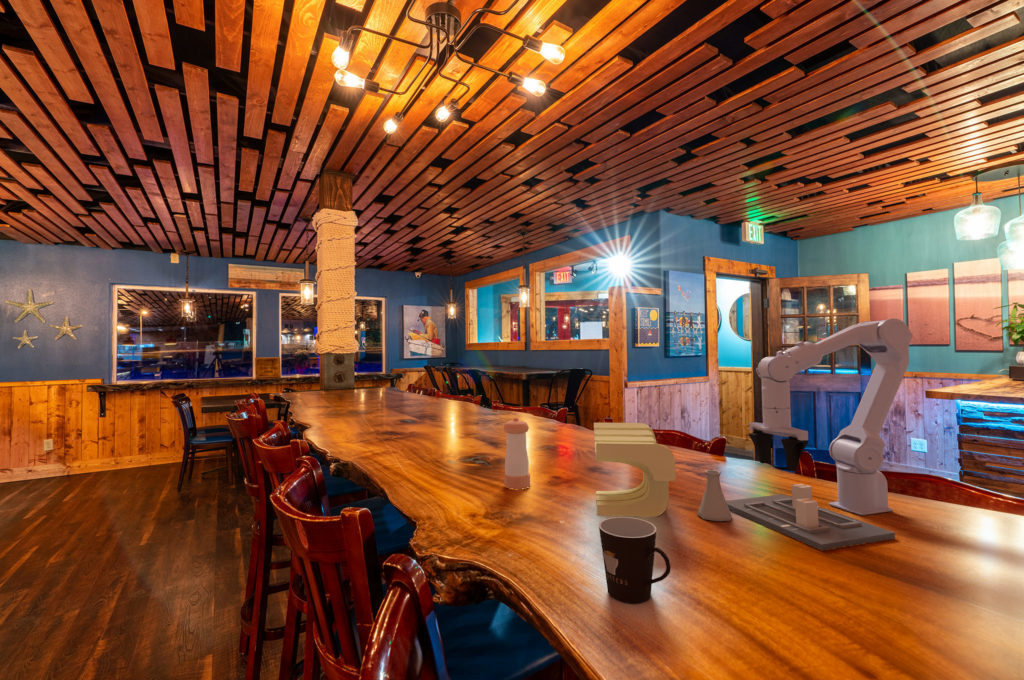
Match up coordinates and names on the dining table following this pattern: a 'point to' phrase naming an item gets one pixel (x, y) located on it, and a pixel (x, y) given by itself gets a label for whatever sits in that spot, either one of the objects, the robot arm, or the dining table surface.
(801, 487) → the fader
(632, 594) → the coffee mug
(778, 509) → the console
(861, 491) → the robot arm
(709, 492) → the flask
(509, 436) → the pepper shaker
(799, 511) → the fader
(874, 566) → the dining table surface
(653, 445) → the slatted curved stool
